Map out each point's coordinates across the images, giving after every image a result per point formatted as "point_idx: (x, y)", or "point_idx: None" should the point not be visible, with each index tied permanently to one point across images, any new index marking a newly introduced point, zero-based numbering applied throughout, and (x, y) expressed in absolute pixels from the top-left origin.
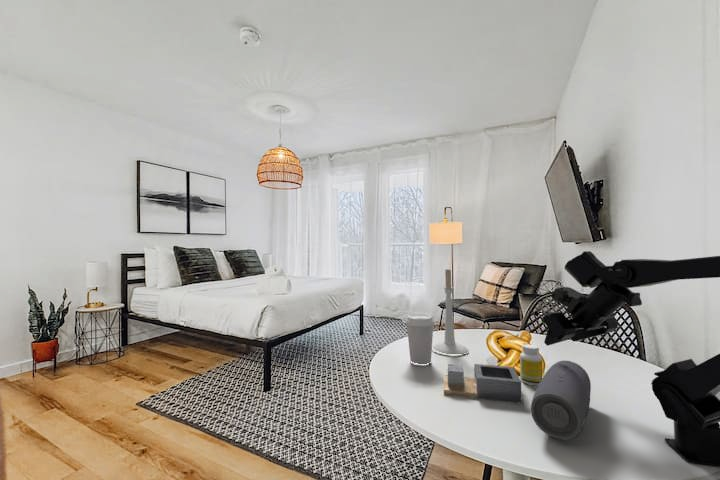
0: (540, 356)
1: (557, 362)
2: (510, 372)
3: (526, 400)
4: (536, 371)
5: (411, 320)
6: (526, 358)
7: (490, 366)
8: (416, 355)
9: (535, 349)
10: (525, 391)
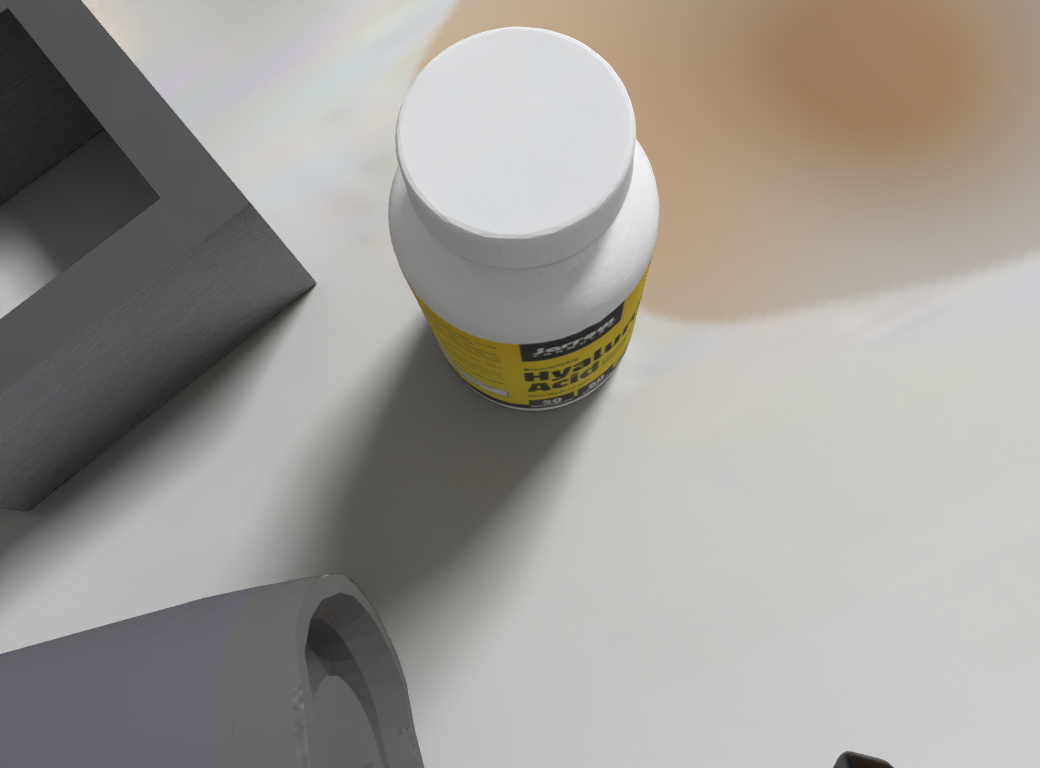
0: (570, 303)
1: (197, 720)
2: (64, 274)
3: (114, 504)
4: (464, 361)
5: None
6: (391, 220)
7: (75, 63)
8: None
9: (460, 239)
10: (285, 402)
